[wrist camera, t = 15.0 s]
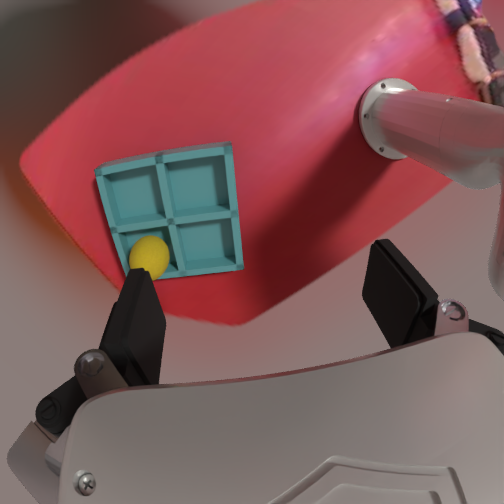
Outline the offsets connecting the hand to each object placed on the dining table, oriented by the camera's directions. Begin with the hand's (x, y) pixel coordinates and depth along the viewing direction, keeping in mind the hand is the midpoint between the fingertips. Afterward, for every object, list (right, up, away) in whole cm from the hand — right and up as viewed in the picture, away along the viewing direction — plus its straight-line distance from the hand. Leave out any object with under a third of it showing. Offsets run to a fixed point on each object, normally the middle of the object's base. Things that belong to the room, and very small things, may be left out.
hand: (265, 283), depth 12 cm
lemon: (-15, +3, +29) cm, 33 cm away
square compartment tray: (-12, +7, +28) cm, 31 cm away
